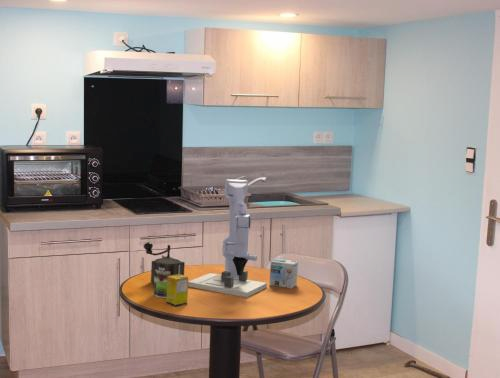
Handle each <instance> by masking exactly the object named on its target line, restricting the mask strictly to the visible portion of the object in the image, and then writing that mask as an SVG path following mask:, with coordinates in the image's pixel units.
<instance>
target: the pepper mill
mask: <svg viewBox="0 0 500 378" xmlns="http://www.w3.org/2000/svg"><path fill="white" fill-rule="evenodd" d="M153 246H154V244H153V243H152V242H145V243H144V244H143V249H145V254H146V255H148V254H149V255H150V256H159V255H162V256H161V258H172V259H175V258H173V257H171V256H170V253H171V250H172V249H171V245H170V244H168V245H166V246H167V248H166V249H165V250H162V251H161V252H158V253H157V252H156V253H154V252H153V250H152V249H153ZM166 253H167V254H166ZM164 254H166V255H167V256H164ZM185 265H186V263H185V261H182V260H180V274H181V275H183V276H185ZM150 272H151V274H150V276H151V277H150V282H151V283H153V284H154V272H155V260H152V261H151V269H150Z"/></svg>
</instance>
